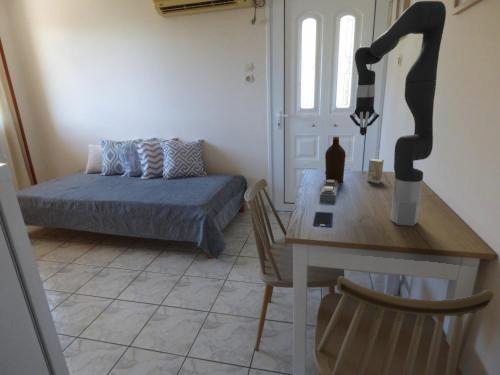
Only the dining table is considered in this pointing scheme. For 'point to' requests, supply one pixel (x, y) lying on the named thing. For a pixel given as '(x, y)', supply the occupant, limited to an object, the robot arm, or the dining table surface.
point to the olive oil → (335, 161)
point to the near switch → (328, 188)
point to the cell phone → (323, 219)
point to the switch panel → (329, 192)
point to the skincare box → (375, 170)
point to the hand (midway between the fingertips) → (363, 135)
